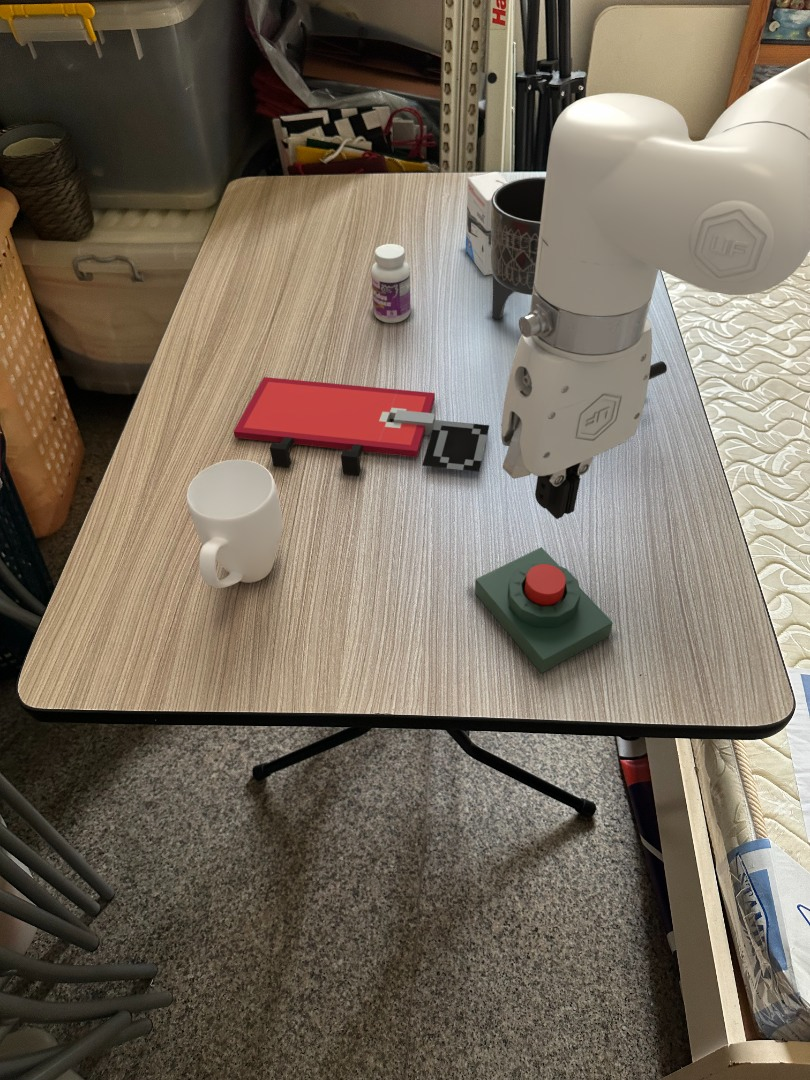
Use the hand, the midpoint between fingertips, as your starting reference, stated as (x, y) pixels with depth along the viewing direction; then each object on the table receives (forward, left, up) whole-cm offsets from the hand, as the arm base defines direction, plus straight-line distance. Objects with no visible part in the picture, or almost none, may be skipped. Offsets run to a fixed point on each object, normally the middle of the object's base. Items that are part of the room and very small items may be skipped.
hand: (553, 504), depth 65 cm
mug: (+19, +23, -15) cm, 33 cm away
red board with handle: (+33, +2, -15) cm, 36 cm away
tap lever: (+22, -26, -7) cm, 35 cm away
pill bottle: (+54, -14, -15) cm, 58 cm away
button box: (0, 0, -15) cm, 15 cm away
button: (0, 0, -11) cm, 11 cm away
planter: (+41, -29, -15) cm, 52 cm away
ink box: (+59, -34, -15) cm, 70 cm away
